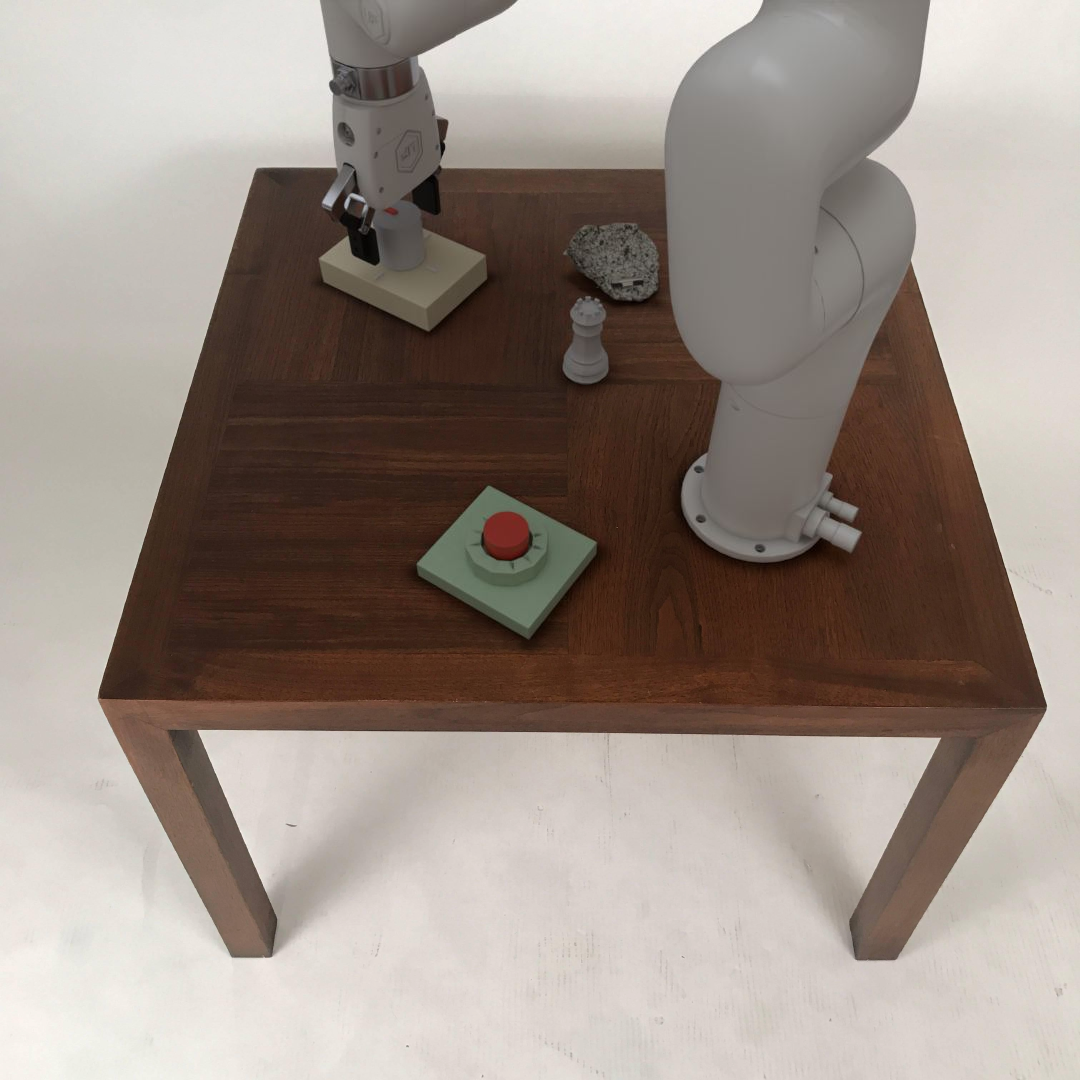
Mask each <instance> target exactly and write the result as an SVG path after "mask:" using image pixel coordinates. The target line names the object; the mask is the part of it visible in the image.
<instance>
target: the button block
mask: <svg viewBox="0 0 1080 1080" xmlns="http://www.w3.org/2000/svg"><path fill="white" fill-rule="evenodd" d="M504 511H509V512H515V513H517V514H519V515H521V516H522V517H524V518H525V520H526V521H527V523H528V525H529V546H528V549H527V550H526V552H525V553H524V554H523V555H522V556H520V557H518V558H516V559H512V560H500V559H497V558H495V557H493V556H491V555H490V554H489V553H488V552H487V550H486V548H485V544H484V532H483V528H484V525H485V522H486V521H487V520H488V519H489V518H490V517H491V516H492V515H494V514H496V513H499V512H504ZM597 547H598V542H597V541H595V540H593V539H591V538H590V537H588V536H586V535H584V534H582V533H580V532H578V531H576V530H574V529H572V528H571V527H569V526H567V525H565V524H563V523H562V522H559V521H557V520H555V519H554V518H552V517H550V516H547V515H546V514H544V513H543V512H540V511H538V510H536V509H535V508H533V507H530V506H529V505H527V504H525V503H523V502H521V501H519V500H517V499H515V498H514V497H512V496H510V495H508V494H506V493H504V492H503V491H500V490H498V489H497V488H494V487H492V486H490V485H487V487H485V489H483V491H482V492H481V493H480V494H479V495H478V496H477V497H476V498H475V499H474V500H473V501H472V503H471V504H469V506H468V507H467V508H466V509H465V511H463V512H462V514H460V516H458V518H457V519H456V520H455V522H453V523H452V524H451V525H450V527H449V528H448V529H447V530H446V531H445V532H444V533H443V534H442V536H440V537H439V538H438V540H436V541H435V543H434V544H433V545H432V546H431V547H430V548H429V549H428V551H426V552H425V554H424V555H423V556H422V557H421V558H420V560H419V561H418V562H417V563H416V569H417V575H418V576H419V577H420V578H422V579H424V580H426V581H427V582H429V583H430V584H433V585H434V586H436V587H438V588H439V589H441V590H442V591H444V592H446V593H447V594H449V595H451V596H453V597H455V598H457V599H458V600H460V601H462V602H463V603H465V604H467V605H469V606H470V607H472V608H474V609H475V610H477V611H479V612H480V613H482V614H484V615H485V616H488V617H489V618H491V619H493V620H495V621H496V622H498V623H500V624H502V625H503V626H504V627H506V628H508V629H510V630H511V631H513V632H515V633H517V634H519V636H522V637H524V638H525V639H527V640H530V639H531V637H532V636H533V635H534V634H535V633H536V631H537V630H539V627H540V626H541V625H542V624H543V622H544V621H545V620H546V619H547V618H548V616H549V615H550V613H551V612H552V611H553V610H554V608H555V607H556V606H557V604H558V603H559V602H560V601H561V599H562V598H563V597H564V596H565V594H566V593H567V592H568V591H569V589H570V588H571V587H572V585H573V584H575V582H576V580H578V578H579V577H580V575H581V574H582V573H583V572H584V570H585V569H586V568H587V567H588V565H589V564H590V563H591V561H592V560H593V559H594V557H595V556H596V555H597V550H598V549H597Z"/></svg>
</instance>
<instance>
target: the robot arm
mask: <svg viewBox="0 0 1080 1080" xmlns="http://www.w3.org/2000/svg"><path fill="white" fill-rule="evenodd" d="M518 1H519V0H319V4H320V10H321V16H322V21H323V29H324V34H325V39H326V44H327V49H328V50H327V51H328V57H329V63H330V69H331V75H332V79H331V80H330V81H329V82H328V87H329V90H330V91H331V93H332V102H331V103H332V104H331V106H332V108H331V110H332V111H331V112H332V115H331V116H332V117H331V118H332V119H331V120H332V137H333V148H334V149H333V150H334V157H335V158H334V159H335V164H336V172H337V176H336V178H335V179H334V181H333V182H332V184H331V186H330V188H329V189H328V191H327V193H326V194H325V196H324V197H323V199H322V201H321V208H322V209H323V211H324V212H325V213H326V214H327V215H328V216H329V217H330V219H331V221H333V222H334V223H337V224H339V225H341V226H343V227H345V228H346V230H347V236H348V237H349V242H350V248H351V253H352V255H353V256H355V257H357V258H359V259H361V260H363V261H365V262H367V263H369V264H372V265H374V266H376V265H377V264H379V263H380V255H379V249H378V242H377V236H376V231H375V229H374V228H372V227H371V223H372V220H373V217H374V214H375V211H376V210H378V211H382V210H385V209H387V208H389V207H390V206H392V205H393V204H395V203H396V202H397V201H398V200H402V198H404V197H405V196H406V195H408V194H409V193H411V197H412V198H411V199H412V203H413V204H415V205H416V206H418V208H419V209H420V211H423V212H425V213H428V214H430V215H433V216H439V214H441V213H442V207H441V197H440V195H441V193H440V187H439V186H440V185H439V177H440V176H441V174H442V171H443V167H442V165H441V161H442V159H443V156H444V153H445V151H446V143H445V142H444V141H446V138H447V133H448V129H449V120H448V119H447V118H445V117H441V116H439V115H437V114H436V109H435V104H434V100H433V94H432V91H431V87H430V83H429V81H428V78H427V76H426V73H425V70H424V68H423V67H422V66H420V64H419V56H421V55H423V54H425V53H427V52H429V51H431V50H433V49H435V48H436V47H439V46H440V45H443V44H444V43H447V42H449V41H450V40H453V39H454V38H456V37H457V36H459V35H461V34H463V33H464V32H467V31H468V30H471V29H472V28H473V29H474V27H476V26H479V25H481V24H483V23H485V22H487V21H489V20H492V19H494V18H496V17H498V16H499V15H501V14H502V13H504V12H506V11H507V10H509V9H510V8H512V7H513V6H514V5H515V4H516V3H517V2H518ZM930 6H931V0H762V3H761V6H760V8H759V10H757V13H756V14H755V16H754V17H753V18H752V20H751V21H749V22H747V23H745V24H744V25H743V26H740V27H739V28H738V29H736V30H735V31H733V32H731V33H729V34H728V35H726V36H725V37H723V38H722V39H721V40H719V41H717V42H716V43H714V44H713V45H712V46H710V47H709V48H708V49H707V50H706V51H704V53H703V54H702V55H700V56H699V57H698V58H697V60H696V61H694V63H693V64H691V67H690V68H689V69H688V70H687V72H686V73H685V74H684V76H683V78H682V80H681V81H680V83H679V84H678V87H677V89H676V92H675V94H674V96H673V100H672V101H671V104H670V108H669V112H668V117H667V120H666V126H665V132H664V148H663V150H664V152H663V153H664V154H663V155H664V160H663V161H664V188H665V212H666V234H667V235H666V237H667V257H668V259H667V261H668V280H669V281H668V282H669V283H668V284H669V293H670V294H669V295H670V302H671V308H672V312H673V317H674V321H675V325H676V328H677V330H678V332H679V335H680V337H681V340H682V342H683V344H684V346H685V348H686V349H687V351H688V353H689V354H690V355H691V356H692V358H693V359H694V361H695V362H696V363H697V364H698V366H700V367H701V368H702V369H703V370H704V371H705V372H706V373H708V374H709V375H710V376H712V377H714V378H715V379H717V380H719V381H721V384H720V389H719V395H718V399H717V404H716V409H715V414H714V419H713V424H712V428H711V434H710V439H709V444H708V449H707V452H705V453H704V454H702V455H701V456H700V457H699V458H698V459H696V460H695V461H694V462H693V463H692V465H691V466H690V467H689V469H688V470H687V472H686V473H685V475H684V479H683V481H682V486H681V493H680V505H681V509H682V513H683V516H684V518H685V520H686V522H687V524H688V526H689V527H690V529H691V530H692V531H693V532H694V533H695V535H696V536H697V537H698V538H699V539H700V540H701V541H703V543H705V544H706V545H707V546H709V547H710V548H713V549H714V550H716V551H717V552H719V553H721V554H723V555H726V556H728V557H730V558H732V559H737V560H741V561H744V562H751V563H762V564H763V563H777V562H782V561H785V560H790V559H793V558H795V557H797V556H799V555H803V554H804V553H805V552H806V551H808V550H810V549H811V548H813V546H814V545H815V544H816V543H817V542H818V541H820V539H823V540H825V541H828V542H830V544H831V545H833V546H835V547H838V548H839V549H842V550H843V551H845V552H847V553H849V554H852V553H853V551H854V549H855V548H856V546H857V544H858V542H859V540H860V538H861V536H862V534H863V532H862V531H861V530H859V529H856V528H854V527H852V526H850V525H848V524H846V523H844V522H839V521H836V520H835V519H833V518H831V517H830V515H831V514H832V515H834V516H836V517H837V518H838V519H839V518H840V519H841V520H843V521H846V522H848V523H850V524H852V523H853V522H854V520H855V518H856V516H857V515H858V512H859V510H860V508H859V507H857V506H855V505H852V504H851V503H849V502H846V501H842V500H840V499H838V498H835V497H834V493H833V492H831V491H829V489H830V486H831V483H832V480H833V477H834V475H833V474H832V473H829V472H828V471H826V470H827V468H828V465H829V463H830V460H831V457H832V454H833V451H834V448H835V445H836V442H837V439H838V436H839V434H840V431H841V429H842V425H843V422H844V420H845V416H846V414H847V411H848V408H849V405H850V402H851V400H852V397H853V395H854V392H855V389H856V386H857V384H858V381H859V379H860V375H861V374H862V370H863V367H864V365H865V362H866V359H867V357H868V355H869V352H870V349H871V347H872V345H873V343H874V340H875V338H876V335H878V331H879V329H880V327H881V326H882V323H883V321H884V320H885V318H886V316H887V314H888V311H889V310H890V308H891V306H892V304H893V302H894V300H895V298H896V297H897V294H898V293H899V290H900V288H901V286H902V284H903V281H904V279H905V277H906V274H907V272H908V270H909V267H910V264H911V260H912V258H913V254H914V250H915V245H916V238H917V237H916V236H917V220H916V213H915V208H914V207H915V206H914V204H913V201H912V197H911V196H910V193H909V192H908V189H907V188H906V186H905V185H904V183H903V181H902V180H901V179H900V177H898V176H897V175H896V173H894V172H893V170H891V169H890V168H888V167H887V166H886V165H884V164H882V163H881V162H879V161H877V160H874V159H872V158H868V156H870V155H871V154H872V153H873V152H875V151H876V150H877V149H878V148H880V147H881V146H882V145H883V144H884V143H886V141H888V139H890V138H891V136H892V135H893V134H894V133H895V132H896V131H897V130H898V129H899V128H900V126H902V125H903V123H904V121H905V120H906V119H907V117H908V116H909V114H910V112H911V110H912V108H913V105H914V102H915V99H916V96H917V93H918V89H919V84H920V79H921V73H922V67H923V66H922V65H923V59H924V58H923V57H924V51H925V50H924V49H925V42H926V35H927V29H928V21H929V14H930ZM358 203H361V204H363V208H362V211H361V214H360V217H358V216H356V215H355V212H356V209H357V205H358Z"/></svg>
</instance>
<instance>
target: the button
mask: <svg viewBox="0 0 1080 1080" xmlns="http://www.w3.org/2000/svg"><path fill="white" fill-rule="evenodd" d="M483 532H484V544H485V548H486V550H487V552H488V553H489V554H490V555H491V556H493V557H495V558H497V559H500V560H512V559H516V558H518V557H520V556H522V555H523V554H524V553H525V552H526V550H527V549H528V546H529V525H528V523H527V521H526V520H525V518H524V517H522V516H521V515H519V514H517V513H515V512H509V511H504V512H499V513H496V514H494V515H492V516H491V517H490V518H489V519H488V520H487V521H486V522H485V525H484V528H483Z"/></svg>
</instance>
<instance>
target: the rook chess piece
mask: <svg viewBox="0 0 1080 1080" xmlns="http://www.w3.org/2000/svg"><path fill="white" fill-rule="evenodd" d="M584 299H585V300H583V298H581V297H579V298H578V299H576V303H574V306H572V308H571V310H570V312H569V313H570V318H571V319H572V321H573V322H572V324H571V325H572V326H571V327H572V328H571V329H572V331H573V338H572V342H571V344H570V346H569V347H568V348H567V350H566V352H565V353H564V356H563V363H562V371H563V373H564V375H565V376H566V377H567V378H568V379H569V380H571V381H572V382H573V383H576V384H579V385H592V384H596V383H598V382H600V381H601V380H602V379H604V378H605V377H606V376H607V374H608V372H609V357H608V353H607V352H606V351H605V348H604V347H603V345H602V340H601V339H602V338H601V332H602V331H603V329H604V327H603V321H605V319H606V317H607V313H606V312H607V311H606V309H605V308H604V307H603V303H601V300H600V299H599V298H597V297H595V298H594V300H592V297H591V296H588V295H587V296H585V297H584Z"/></svg>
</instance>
